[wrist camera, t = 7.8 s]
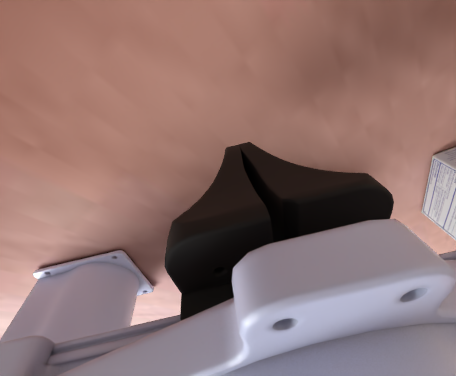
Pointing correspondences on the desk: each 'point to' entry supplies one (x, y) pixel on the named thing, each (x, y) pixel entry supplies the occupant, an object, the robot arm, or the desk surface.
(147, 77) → the desk surface
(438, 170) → the medicine box
